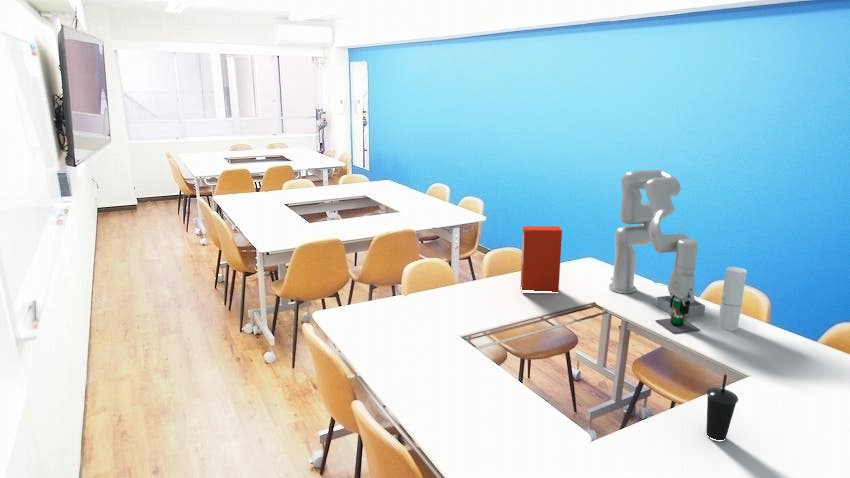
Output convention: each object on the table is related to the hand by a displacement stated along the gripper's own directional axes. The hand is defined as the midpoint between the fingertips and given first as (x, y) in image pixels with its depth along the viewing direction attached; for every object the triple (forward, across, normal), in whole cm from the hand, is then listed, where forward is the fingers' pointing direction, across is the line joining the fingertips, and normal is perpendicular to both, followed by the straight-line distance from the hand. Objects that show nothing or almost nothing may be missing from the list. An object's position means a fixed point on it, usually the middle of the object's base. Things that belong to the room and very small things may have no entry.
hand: (678, 310), depth 217 cm
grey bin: (+7, -13, +11) cm, 18 cm away
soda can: (+7, 0, 0) cm, 7 cm away
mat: (+7, 0, 0) cm, 7 cm away
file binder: (+7, -50, -39) cm, 64 cm away
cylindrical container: (+7, +6, +19) cm, 21 cm away
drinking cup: (+7, +65, -36) cm, 75 cm away
